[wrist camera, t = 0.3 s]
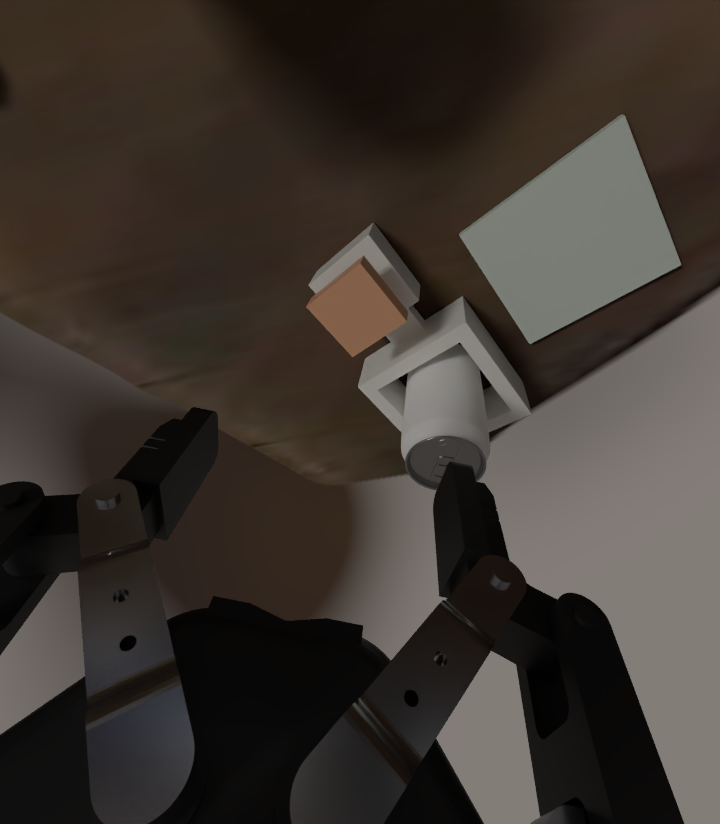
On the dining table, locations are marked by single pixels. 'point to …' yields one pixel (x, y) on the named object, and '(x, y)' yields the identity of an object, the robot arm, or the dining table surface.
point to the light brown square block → (358, 307)
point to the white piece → (424, 338)
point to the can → (444, 418)
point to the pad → (575, 235)
